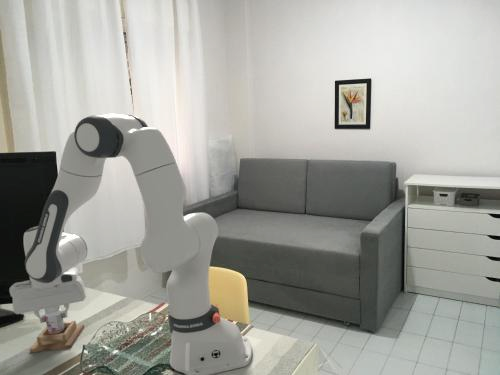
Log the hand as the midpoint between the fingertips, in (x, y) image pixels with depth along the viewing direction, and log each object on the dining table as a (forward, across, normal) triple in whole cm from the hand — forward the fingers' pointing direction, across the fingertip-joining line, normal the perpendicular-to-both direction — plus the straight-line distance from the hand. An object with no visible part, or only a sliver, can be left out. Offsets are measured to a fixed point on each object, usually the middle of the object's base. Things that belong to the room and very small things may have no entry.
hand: (54, 319), depth 129 cm
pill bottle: (+4, 0, 0) cm, 4 cm away
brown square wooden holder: (+7, 0, 0) cm, 7 cm away
